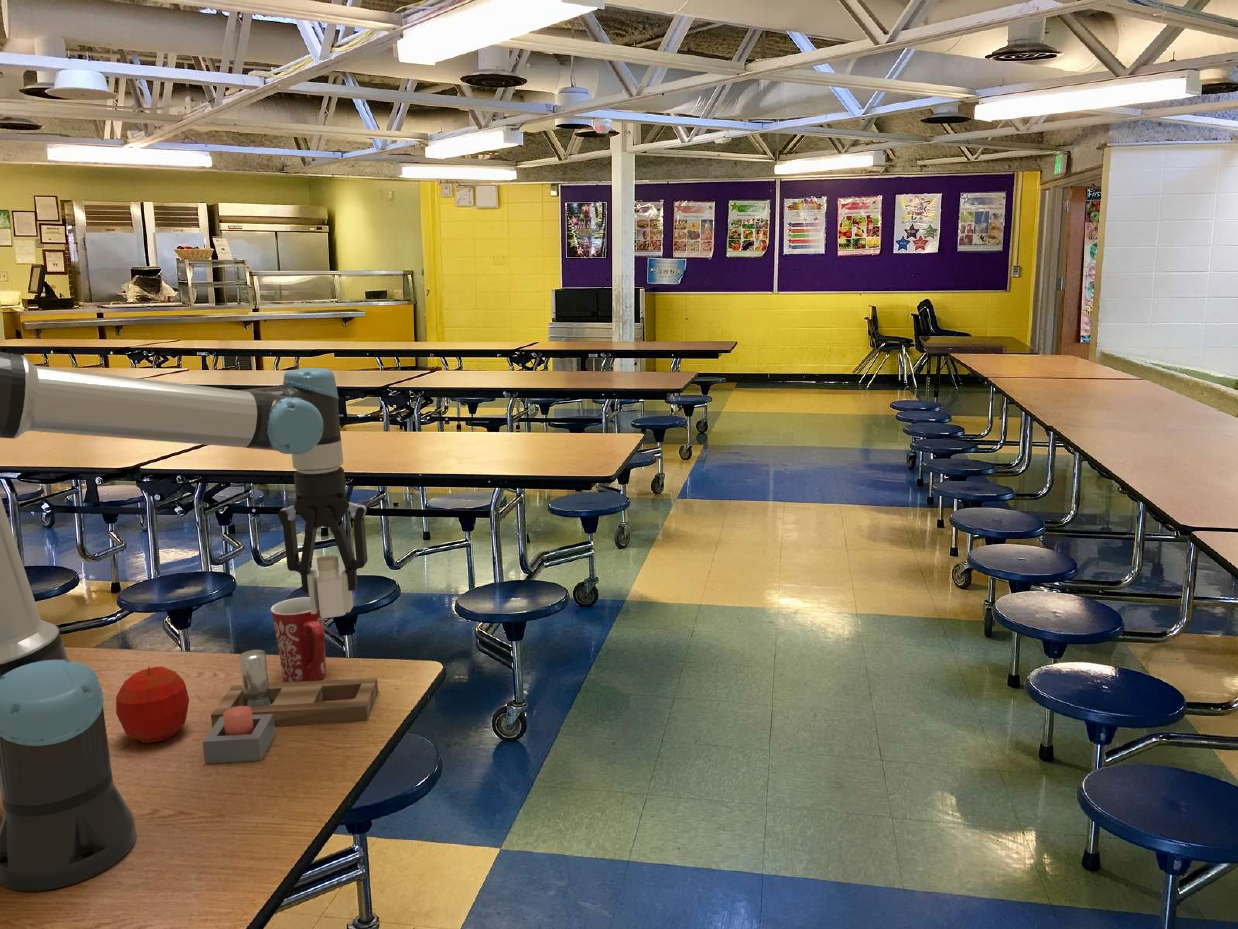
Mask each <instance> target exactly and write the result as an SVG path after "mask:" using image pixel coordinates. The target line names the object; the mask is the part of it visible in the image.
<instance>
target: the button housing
mask: <svg viewBox="0 0 1238 929" xmlns="http://www.w3.org/2000/svg"><path fill="white" fill-rule="evenodd" d="M252 718H253V727H254V731H253V732H252V734H246V735H229V736H225V728H224V719H223V717H220V718H219V719H218V721H217V722H216V723H215V725H214V726H213V728H212V727H211V729H210V730H209V732H208V733H207V735H206V736H205V737H204V739H203V740H202V747H203V750H202V751H203V758H204V764H205V765H206V764H221V763H222V764H223V763H238V762H239V763H240V762H255V761H262V759H263V758H264V756H265V754H266V753H267V750H268V749H269V747H270V746H271V744H272V742H273V740H274V738H275V736H276V726H275V724H274V714H260V715H252Z"/></svg>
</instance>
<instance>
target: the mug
mask: <svg viewBox="0 0 1238 929" xmlns="http://www.w3.org/2000/svg"><path fill="white" fill-rule="evenodd" d="M270 612H271V615H272V619H273V625H274V631H275V637H276V642H277V650H278V654H279V659H280V660H279V661H280V667H281V674H282V680H283V683H284V682H302V681H321V680H322V679H323V678H325V677H326V675H327V674H326V673H327V665H326V664H327V662H326V639H325V637H326V636H325V618H321V616H320V610H318V612H317V613H316V614H311V609H310V599H309V597H308V596H303V597H295V598H290V599H289V598H288V599H285V600H282V601H279V602H276V603H275V604H273V605H272V606H271V607H270Z"/></svg>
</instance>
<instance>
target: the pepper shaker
mask: <svg viewBox="0 0 1238 929" xmlns="http://www.w3.org/2000/svg"><path fill="white" fill-rule="evenodd" d="M316 564H317V571H318V575H317V578H316V582H317V591H318V601H319V610H320V616H321V618H324V619H330V618H336V617H342V616H345V615H346V614H347V613H345V609H344V598H343V588H342V577H341V573H340V572H339V571H340V570H339V569H340V568H339V567H340V564H339V556H337V555H336V554H326V555H321V556H318V557H317V559H316Z"/></svg>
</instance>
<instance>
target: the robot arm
mask: <svg viewBox="0 0 1238 929" xmlns="http://www.w3.org/2000/svg"><path fill="white" fill-rule="evenodd" d="M283 374H284V375H283V381H282V384H279V385H274V386H267V387H257V388H256V387H255V388H244V389H228V388H220V387H211V386H206V385H205V386H204V385H203V386H202V385H196V384H186V383H178V382H171V381H163V380H154V379H148V378H146V379H145V378H140V377H129V376H123V375H114V374H106V373H100V372H99V373H97V372H90V371H82V370H76V369H75V370H74V369H73V370H72V369H66V368H57V367H48V366H40V365H35V364H32V362H31V361H30V360H29V359H28V358H27V357H26V356H25V355H23V354H17V353H16V354H15V353H8V352H2V351H0V438H1V439H14V440H15V439H17V438H19V437H21V435H24V433H27V432H28V431H29V432H40V433H49V434H50V433H53V434H66V435H78V436H79V435H80V436H92V437H103V438H117V439H131V440H142V441H143V440H144V441H155V442H165V443H166V442H167V443H180V444H182V443H183V444H193V445H194V444H195V445H208V446H218V447H220V446H221V447H234V448H245V449H253V450H254V449H255V450H263V451H274V452H275V451H276V452H280V453H281V454H283V455H291V461H292V468H293V469H294V470H295V471H294V473H293V478H294V488H295V489H294V490H295V501H294V502H293V505H291V506H289V507H287V506H285V507H283V508H282V509H280V510H279V511H278V512H277V516H278V518H279V521H280V523H281V526H282V529H283V539H284V548H285V555H286V565H287V566H286V567H287V569H288V571H290V572H293V571H294V572H297V573H299V575H300V579H301V590H302V592H303V594H304V593H305V594H308V596H309V599H310V609H311V614H316V613H317V612H318V610H319V601H318V591H317V582H316V578H317V577H318V572H317V571H318V569H312V567H313V565H312V564H313V556H314V552H315V545H316V538H317V531H318V529H319V528H321V527H324V528H329V529H330V532H331V533H332V535H333V538H334V541H335V543H336V546H337V549H338V551H339V554H340V557H341V561H342V563H343V567H344V569H343V570H342V572H341V573H340V574H341V577H342V588H343V598H344V609H345V613H346V614H347V613H350V612H351V611H352V609H353V607H354V599H353V598H354V597H353V592H354V591H356V589H357V587H358V576H357V575H358V574H357V573H358V572H357V570H358V569H363V568H364V567H365V565H366V564H367V562H368V549H367V548H368V547H367V538H366V524H365V523H366V522H365V517H366V514H367V511H368V506H367V504H364V503H361V504H358V503H354V502H351V499H350V498H349V497H348V494H347V488H346V477H345V469H344V468H343V467H342V465H343V464H344V456H343V453H344V452H343V444H342V443H343V442H342V435H341V424H340V423H341V422H340V412H339V395H338V394H339V393H338V388H337V382H336V377H335V374H334V372H333V371H332V370H331V369H328V368H323V367H310V368H308V367H307V368H306V367H305V368H297V369H290V370H287V371H285V372H284V373H283ZM348 511H349V513H350V516H351V518H352V519H353V522H352V525H353V536H354V548H355V549H354V551H355V556H354V552H353V549H352V546H351V543H350V541H349V538H348V534H347V533H346V529H345V523H344V520H343V517H344V516H345V514H346V512H348ZM296 513H297V514H298V515H299V516H300V517H301V518H302V520H303V521H304V522H305V527H304V537H303V545H302V551H301V552H302V553H301V558H300V554H299V546H298V536H297V529H296V528H297V527H296V521H295V519H297V518H296V517H297V514H296ZM27 575H28V574H27V573H26V570H25V567H24V564H23V560H22V557H21V554H20V551H19V549H18V546H17V542H16V539H15V536H14V534H13V530H12V527H11V524H10V520H9V518H8V515H7V513H6V509H5V506H4V503H3V499H2V497H1V495H0V796H1V800H2V802H1V803H2V808H3V815H2V819H1V824H0V885H2V886H3V887H5V888H7V889H10V890H13V891H20V892H40V891H41V892H42V891H48V890H49V891H50V890H54V889H55V890H56V889H59V888H63V887H68V886H70V885H73V884H77V883H81V882H83V881H85V880H88V879H91V878H92V877H94V876H97V875H98V874H100V873H102V872H104V871H106V870H108V869H109V868H111V867H112V866H114V865H115V864H117V863H118V862H120V860H122V859H123V858H124V857H126V856H127V854H128V853H129V852H130V851H131V849H132V848H133V847H134V845H135V843H136V840H137V831H136V830H137V829H136V823H135V818H134V815H133V813H132V811H131V810H130V809H129V807H128V804H127V803H126V801H125V800H124V798H123V796H122V794H121V793H120V791H119V789H118V788H117V786H116V783H115V782H114V778H113V772H112V771H113V770H112V765H111V763H112V762H111V757H110V749H109V741H108V734H107V726H106V718H105V712H104V692H103V688H102V687H101V684H100V681H99V677H98V675H97V673H96V672H95V671H94V670H93V669H92V667H90V666H88V665H87V664H84V663H83V662H80V661H76V660H73V661H70V660H69V658H68V654H67V652H66V648H65V645H64V642H63V639H62V637H61V633H60V630H59V627H58V625H55V624H54V623H52V622H51V623H50V622H48V621H45V620H42V618H41V615H40V613H39V608H38V606H37V602H36V601H35V597H34V594H33V591H32V589H31V588H32V587H31V584H30V582H29V579H28V576H27Z"/></svg>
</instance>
